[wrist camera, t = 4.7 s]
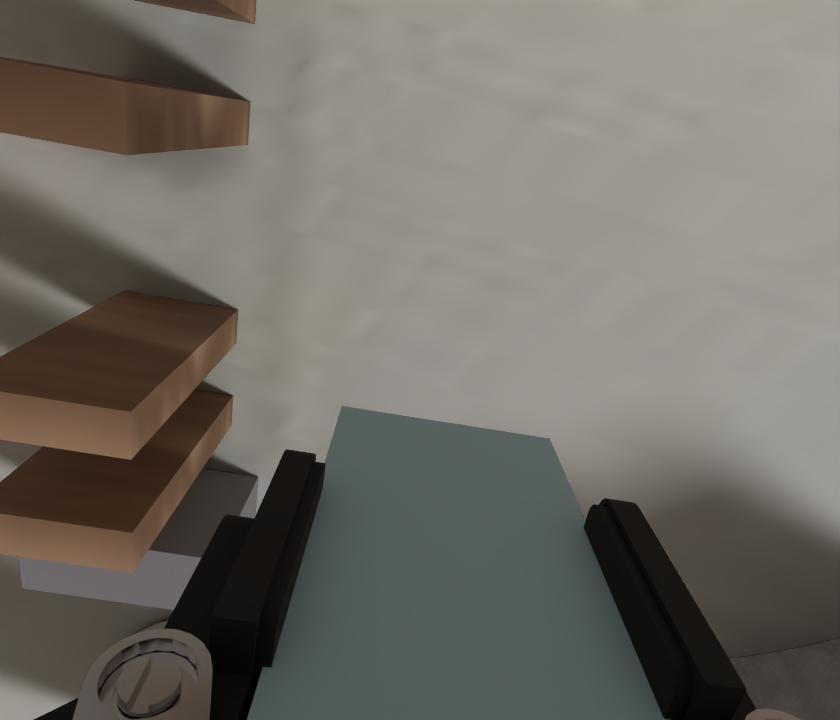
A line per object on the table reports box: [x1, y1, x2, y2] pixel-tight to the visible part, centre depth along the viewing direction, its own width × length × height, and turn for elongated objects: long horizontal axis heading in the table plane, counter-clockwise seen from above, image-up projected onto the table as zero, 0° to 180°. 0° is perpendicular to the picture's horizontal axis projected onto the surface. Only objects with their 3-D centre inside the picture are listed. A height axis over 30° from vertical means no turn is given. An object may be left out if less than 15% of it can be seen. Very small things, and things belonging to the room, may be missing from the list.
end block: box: [19, 469, 258, 610], centre depth 26 cm, size 3×8×6 cm, turn 80°
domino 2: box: [0, 291, 238, 460], centre depth 21 cm, size 2×5×10 cm, turn 80°
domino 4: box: [247, 406, 671, 720], centre depth 9 cm, size 2×5×10 cm, turn 80°
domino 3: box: [0, 390, 233, 573], centre depth 23 cm, size 2×5×10 cm, turn 80°
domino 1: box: [0, 57, 250, 155], centre depth 18 cm, size 2×5×10 cm, turn 80°
